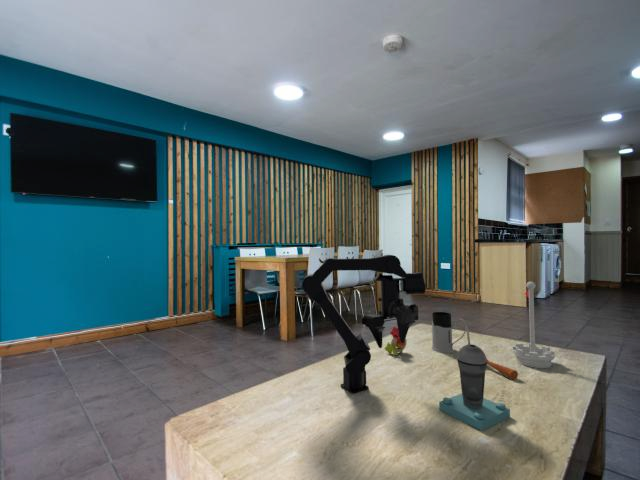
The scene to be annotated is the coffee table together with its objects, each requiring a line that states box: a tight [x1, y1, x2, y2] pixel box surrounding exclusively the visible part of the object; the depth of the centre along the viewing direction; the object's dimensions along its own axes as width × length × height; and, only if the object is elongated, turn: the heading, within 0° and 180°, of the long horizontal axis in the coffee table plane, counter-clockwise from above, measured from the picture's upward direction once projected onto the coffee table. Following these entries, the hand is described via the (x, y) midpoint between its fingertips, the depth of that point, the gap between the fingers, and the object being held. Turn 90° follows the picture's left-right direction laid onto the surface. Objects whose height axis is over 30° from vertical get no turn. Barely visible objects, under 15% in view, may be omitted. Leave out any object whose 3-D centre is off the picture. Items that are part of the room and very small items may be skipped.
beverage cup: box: [456, 326, 488, 409], centre depth 85 cm, size 7×7×20 cm
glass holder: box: [431, 311, 467, 354], centre depth 136 cm, size 9×14×15 cm, turn 51°
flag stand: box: [512, 281, 556, 369], centre depth 121 cm, size 13×13×30 cm
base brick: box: [438, 393, 511, 432], centre depth 85 cm, size 12×12×3 cm
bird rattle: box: [384, 326, 408, 356], centre depth 133 cm, size 6×11×9 cm
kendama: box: [486, 357, 519, 381], centre depth 115 cm, size 6×6×20 cm
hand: (391, 345), depth 101 cm, fingers open, 9 cm apart
